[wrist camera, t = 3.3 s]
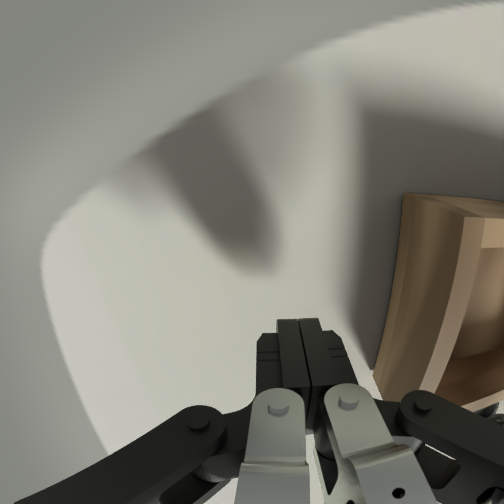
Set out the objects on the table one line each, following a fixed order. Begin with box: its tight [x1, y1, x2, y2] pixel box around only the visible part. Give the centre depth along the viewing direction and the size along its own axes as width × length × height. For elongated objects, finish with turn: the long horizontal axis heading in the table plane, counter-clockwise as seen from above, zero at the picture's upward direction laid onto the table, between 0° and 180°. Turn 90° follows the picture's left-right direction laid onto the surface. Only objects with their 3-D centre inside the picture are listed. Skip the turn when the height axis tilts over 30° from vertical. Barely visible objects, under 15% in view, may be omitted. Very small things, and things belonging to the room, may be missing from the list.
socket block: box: [373, 193, 504, 412], centre depth 11 cm, size 10×10×4 cm
